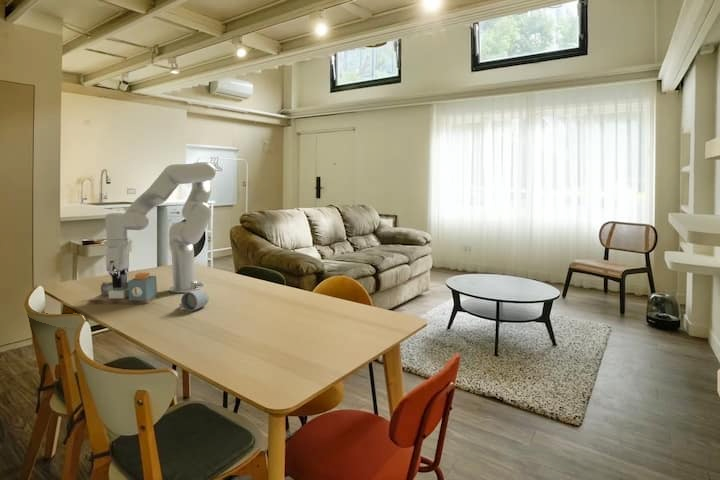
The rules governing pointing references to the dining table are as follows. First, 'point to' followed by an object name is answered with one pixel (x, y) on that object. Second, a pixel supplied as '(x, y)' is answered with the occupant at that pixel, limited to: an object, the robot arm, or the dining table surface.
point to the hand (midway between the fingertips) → (120, 285)
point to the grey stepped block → (120, 289)
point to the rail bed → (106, 300)
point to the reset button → (141, 276)
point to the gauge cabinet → (142, 288)
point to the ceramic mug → (194, 300)
